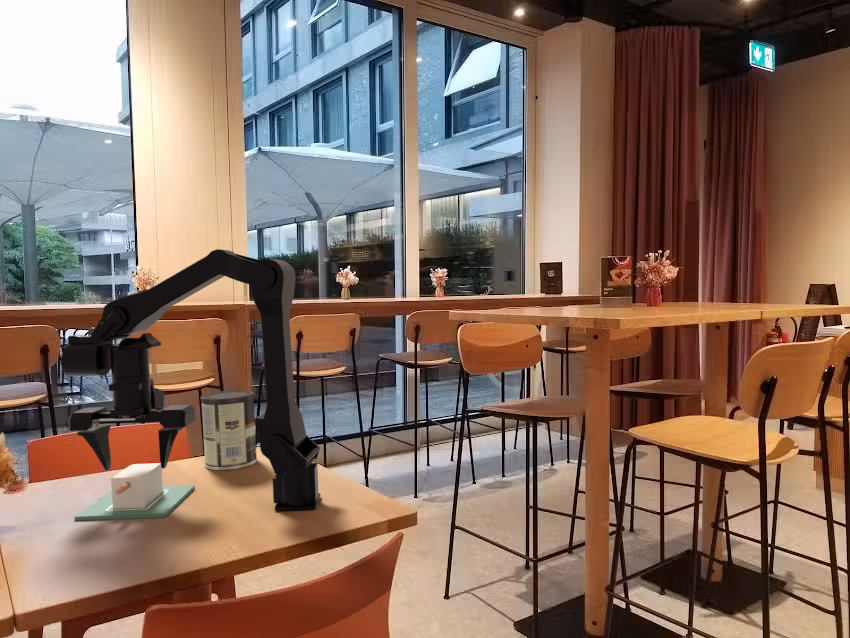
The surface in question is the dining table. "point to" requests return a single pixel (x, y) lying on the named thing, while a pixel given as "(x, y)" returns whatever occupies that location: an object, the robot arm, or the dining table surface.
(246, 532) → the dining table surface
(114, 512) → the pin board
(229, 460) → the coffee can
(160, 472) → the block
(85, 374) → the robot arm
